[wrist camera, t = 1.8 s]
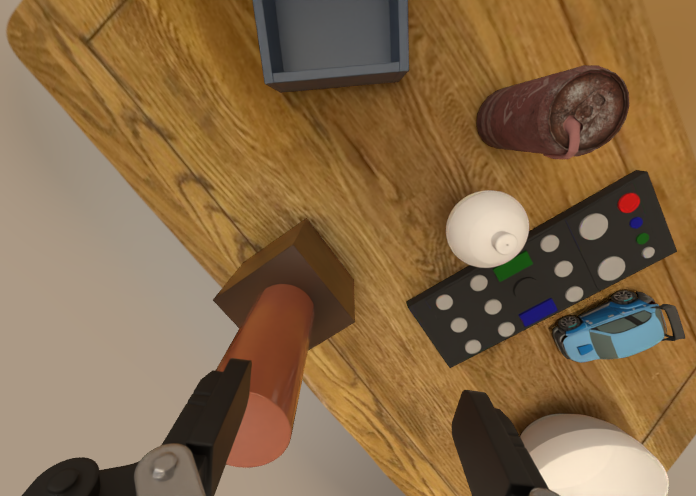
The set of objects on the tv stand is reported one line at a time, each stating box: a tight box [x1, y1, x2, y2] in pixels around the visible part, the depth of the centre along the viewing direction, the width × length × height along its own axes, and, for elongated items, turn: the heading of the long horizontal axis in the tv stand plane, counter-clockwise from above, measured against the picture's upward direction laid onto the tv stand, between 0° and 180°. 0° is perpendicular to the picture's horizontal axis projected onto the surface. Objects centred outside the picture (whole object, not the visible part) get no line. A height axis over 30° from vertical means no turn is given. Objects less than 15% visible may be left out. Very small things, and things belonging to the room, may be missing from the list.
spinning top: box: [446, 190, 529, 268], centre depth 34 cm, size 8×8×12 cm
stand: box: [213, 218, 355, 350], centre depth 38 cm, size 10×10×10 cm
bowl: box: [520, 414, 669, 496], centre depth 47 cm, size 19×19×9 cm
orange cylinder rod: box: [216, 284, 315, 467], centre depth 26 cm, size 6×6×14 cm
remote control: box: [406, 170, 677, 368], centre depth 41 cm, size 11×30×2 cm, turn 124°
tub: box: [253, 0, 409, 92], centre depth 30 cm, size 13×13×7 cm
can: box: [477, 66, 629, 159], centre depth 30 cm, size 6×6×14 cm
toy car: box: [553, 290, 685, 362], centre depth 42 cm, size 6×12×6 cm, turn 121°
